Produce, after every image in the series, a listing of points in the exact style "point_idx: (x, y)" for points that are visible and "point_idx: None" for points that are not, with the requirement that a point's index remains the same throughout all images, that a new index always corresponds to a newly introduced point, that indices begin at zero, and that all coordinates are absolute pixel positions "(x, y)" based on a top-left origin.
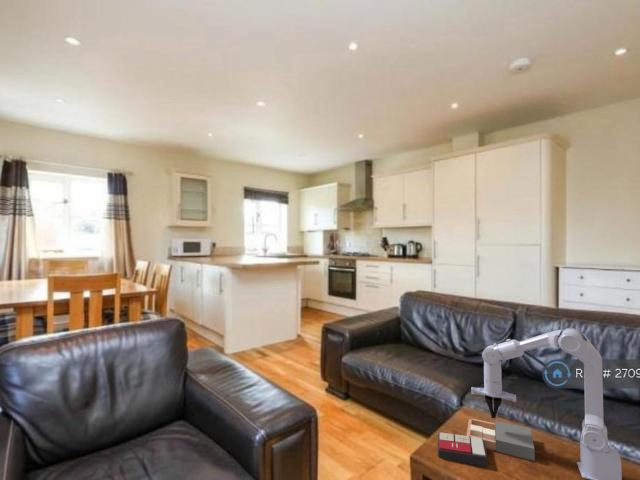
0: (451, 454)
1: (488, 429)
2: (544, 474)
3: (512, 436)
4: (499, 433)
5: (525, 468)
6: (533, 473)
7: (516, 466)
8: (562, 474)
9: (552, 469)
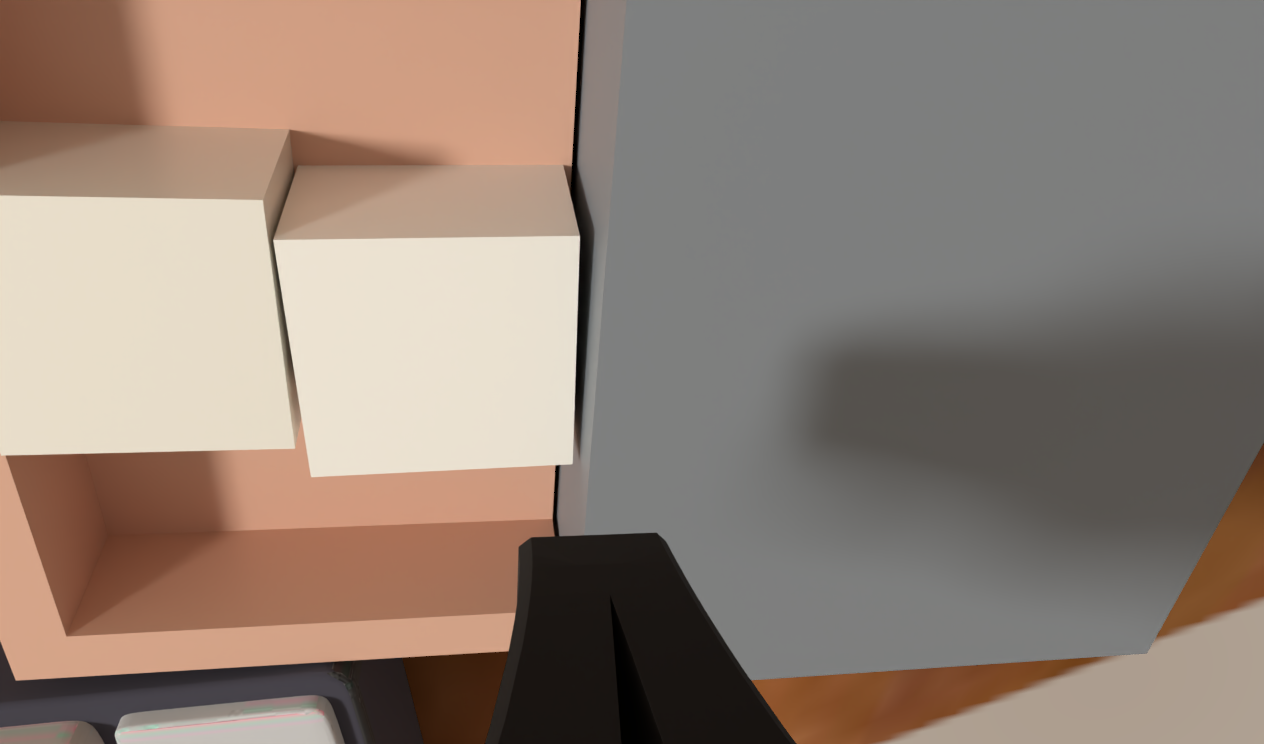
0: None
1: (421, 269)
2: (1039, 684)
3: (916, 471)
4: (667, 477)
5: (867, 683)
6: (925, 717)
7: (772, 694)
8: (1244, 607)
9: None
